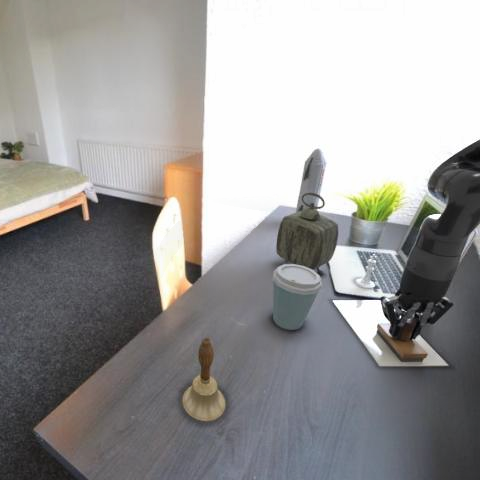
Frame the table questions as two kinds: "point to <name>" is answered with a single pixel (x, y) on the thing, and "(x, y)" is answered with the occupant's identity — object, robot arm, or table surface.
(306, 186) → the rocket model
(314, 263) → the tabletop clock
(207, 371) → the hand bell
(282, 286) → the disposable coffee cup
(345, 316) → the tile
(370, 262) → the chess piece
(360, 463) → the table surface
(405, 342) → the stamp
